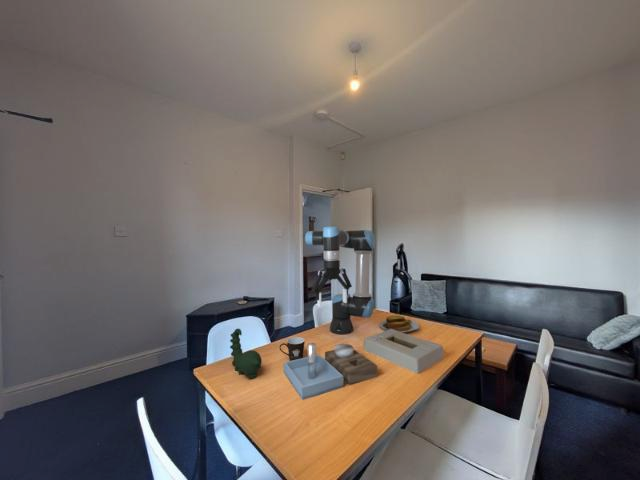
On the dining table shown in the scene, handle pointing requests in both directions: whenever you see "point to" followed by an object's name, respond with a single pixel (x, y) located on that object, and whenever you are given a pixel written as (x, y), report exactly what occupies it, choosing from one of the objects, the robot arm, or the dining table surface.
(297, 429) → the dining table surface
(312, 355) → the lock pin
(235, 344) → the toy figurine
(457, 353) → the dining table surface
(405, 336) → the slotted block
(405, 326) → the food on plate
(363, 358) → the block
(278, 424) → the dining table surface
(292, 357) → the coffee mug
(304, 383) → the tray
